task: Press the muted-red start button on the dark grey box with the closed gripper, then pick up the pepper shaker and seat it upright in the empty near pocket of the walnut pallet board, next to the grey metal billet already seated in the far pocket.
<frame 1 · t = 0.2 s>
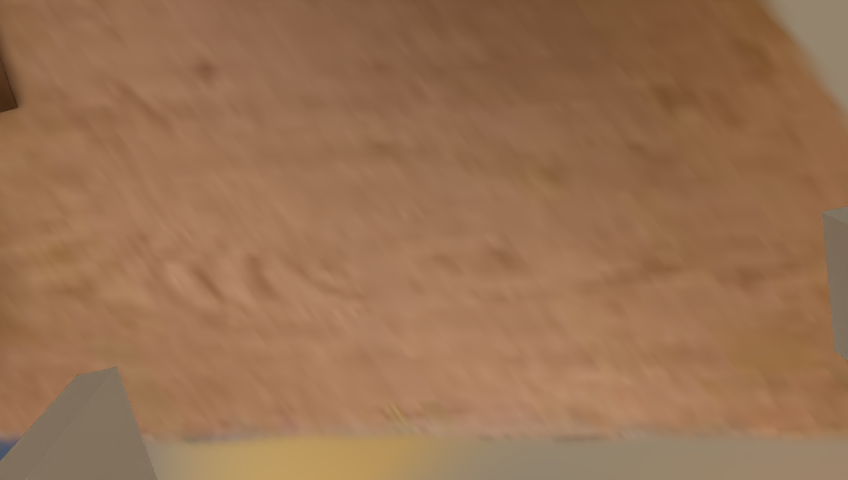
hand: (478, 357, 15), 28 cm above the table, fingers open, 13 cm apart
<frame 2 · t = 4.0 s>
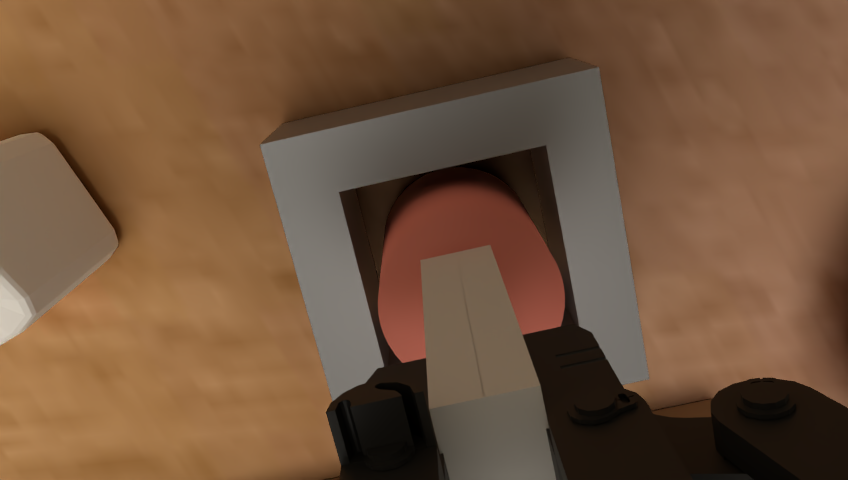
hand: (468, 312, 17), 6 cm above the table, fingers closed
button housing: (455, 229, 23), on the table
pepper shaker: (37, 215, 23), on the table
start button: (463, 268, 20), point 4 cm above the table, slide at 1.1 cm, touching gripper
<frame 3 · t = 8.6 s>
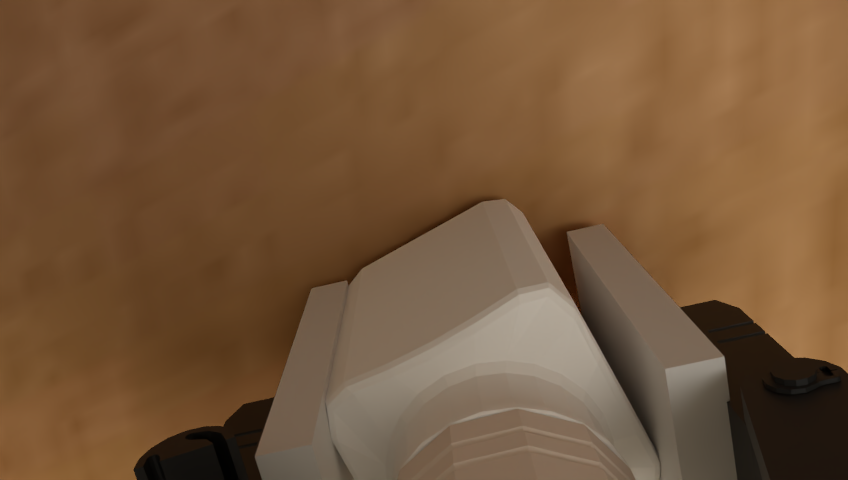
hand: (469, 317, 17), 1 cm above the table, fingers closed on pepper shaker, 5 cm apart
pepper shaker: (466, 302, 18), on the table, touching gripper
when the fingers open (3 cm above the table, at t = 14.8 s): pepper shaker stays where it is, resting in pallet board.
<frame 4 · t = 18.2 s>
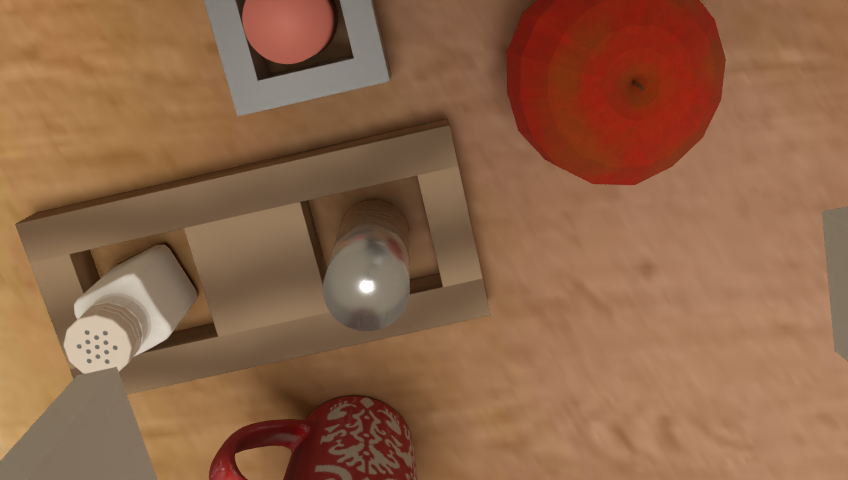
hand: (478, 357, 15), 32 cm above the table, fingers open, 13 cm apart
pallet board: (265, 257, 47), on the table
mug: (335, 428, 51), on the table
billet: (374, 233, 47), resting in pallet board
apple: (584, 68, 45), on the table
button housing: (301, 18, 44), on the table
pepper shaker: (157, 281, 48), resting in pallet board
start button: (292, 19, 40), point 4 cm above the table, slide at 1.2 cm
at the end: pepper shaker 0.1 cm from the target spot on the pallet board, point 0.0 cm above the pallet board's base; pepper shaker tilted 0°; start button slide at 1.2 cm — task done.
